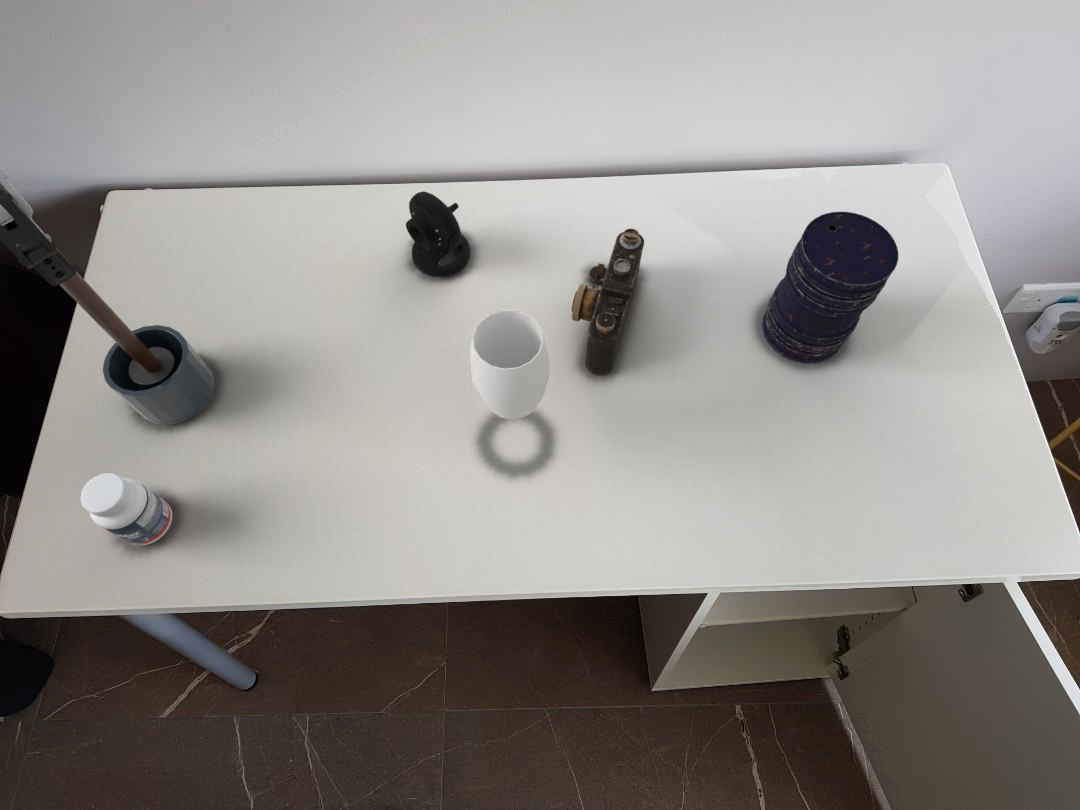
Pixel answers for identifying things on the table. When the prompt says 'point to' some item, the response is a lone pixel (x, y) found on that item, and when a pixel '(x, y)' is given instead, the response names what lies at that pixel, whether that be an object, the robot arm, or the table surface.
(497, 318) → the white tall cylinder
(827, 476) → the table surface
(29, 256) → the robot arm
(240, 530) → the table surface
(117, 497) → the pill bottle
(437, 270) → the webcam
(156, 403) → the gray open cylinder
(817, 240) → the navy stacked disc cylinder
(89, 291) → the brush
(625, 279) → the camera
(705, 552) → the table surface
